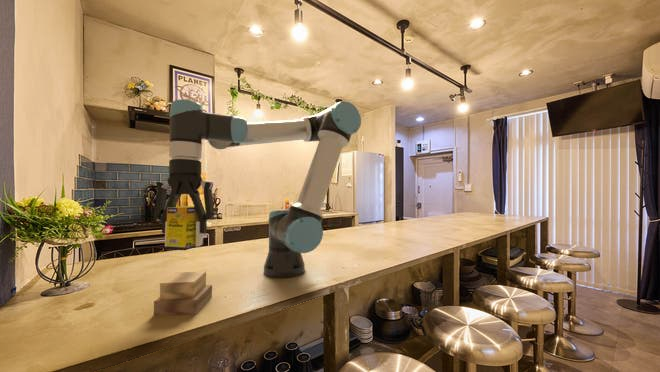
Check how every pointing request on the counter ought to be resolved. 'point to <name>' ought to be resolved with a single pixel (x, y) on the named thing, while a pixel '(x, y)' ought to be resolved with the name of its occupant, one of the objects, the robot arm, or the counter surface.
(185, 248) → the supplement box
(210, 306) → the counter surface
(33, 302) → the counter surface
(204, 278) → the oak block
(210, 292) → the walnut base block
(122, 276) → the counter surface
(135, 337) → the counter surface
